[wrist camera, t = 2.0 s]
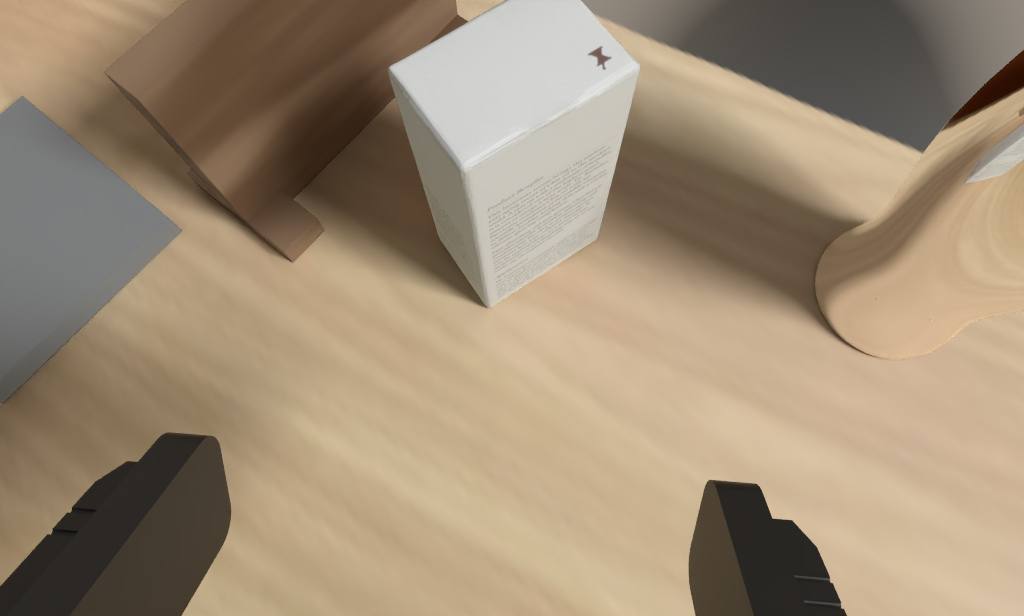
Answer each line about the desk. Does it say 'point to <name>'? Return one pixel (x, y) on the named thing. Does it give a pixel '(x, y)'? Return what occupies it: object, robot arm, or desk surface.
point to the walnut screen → (272, 93)
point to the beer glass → (939, 236)
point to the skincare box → (517, 136)
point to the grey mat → (61, 239)
